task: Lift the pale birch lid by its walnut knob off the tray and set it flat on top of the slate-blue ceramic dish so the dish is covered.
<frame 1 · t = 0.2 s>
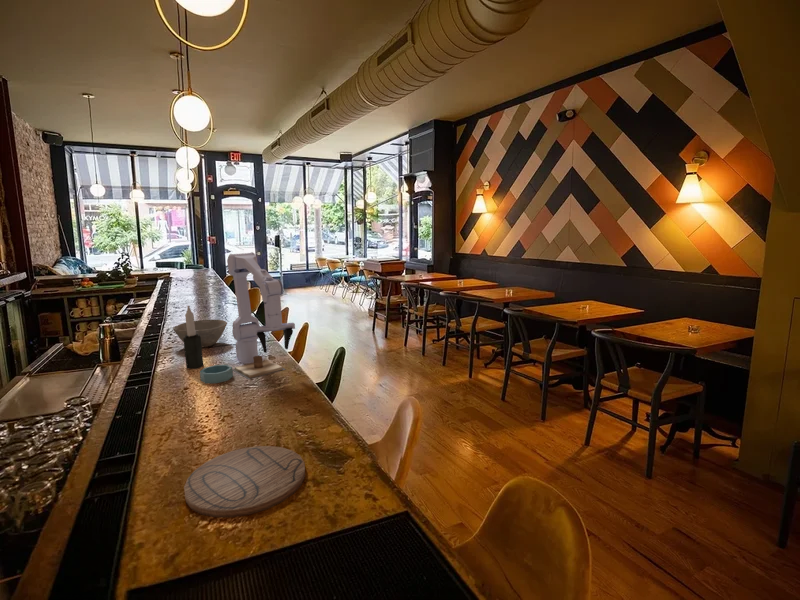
hand: (275, 350, 164), 10 cm above the bar counter, tool pointing down, fingers open, 7 cm apart
tray: (258, 371, 172), on the bar counter
trivet: (247, 482, 99), on the bar counter
ceramic bowl: (202, 346, 210), on the bar counter
lid: (258, 369, 172), point 1 cm above the bar counter, touching tray
candle: (195, 368, 177), on the bar counter
dish: (217, 379, 163), on the bar counter
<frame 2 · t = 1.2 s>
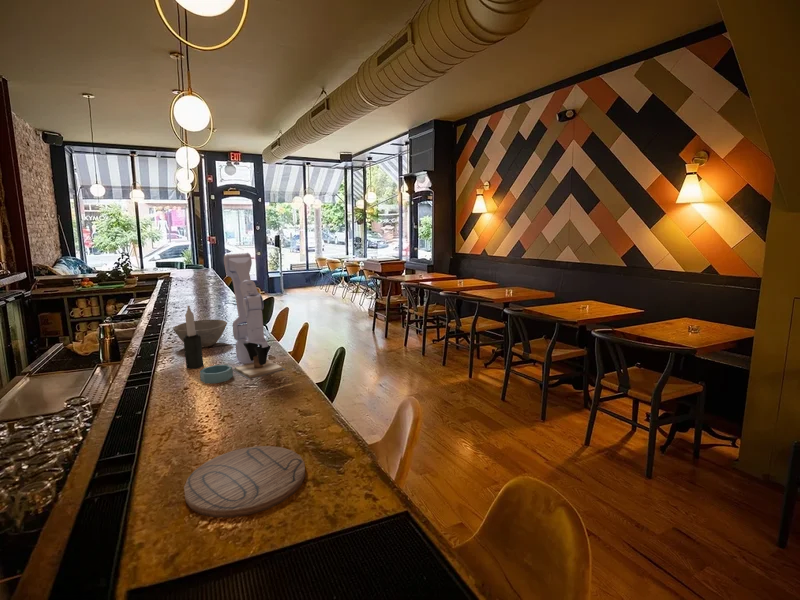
hand: (258, 362, 171), 4 cm above the bar counter, tool pointing down, fingers open, 7 cm apart
nothing on the bar counter moved.
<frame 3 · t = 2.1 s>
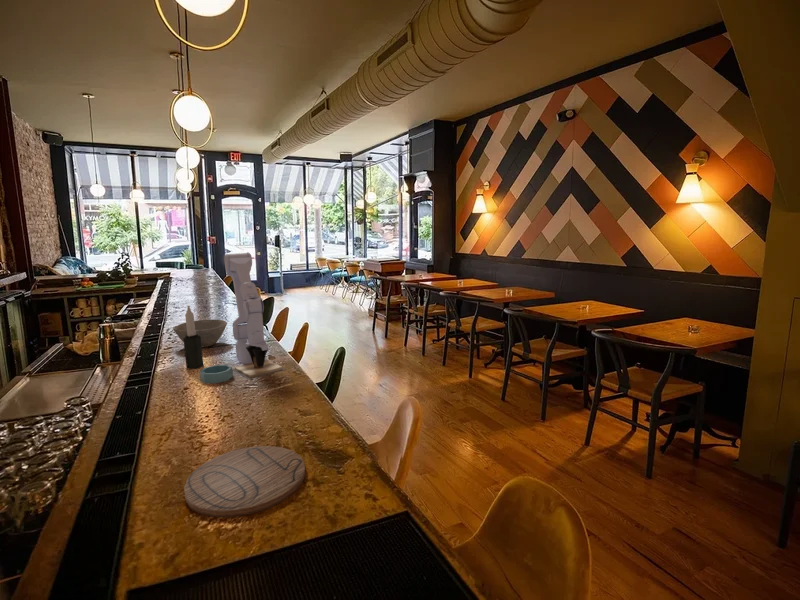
hand: (258, 365, 171), 2 cm above the bar counter, tool pointing down, fingers closed on lid, 3 cm apart
lid: (258, 369, 172), point 1 cm above the bar counter, touching gripper, tray
everything else where it was.
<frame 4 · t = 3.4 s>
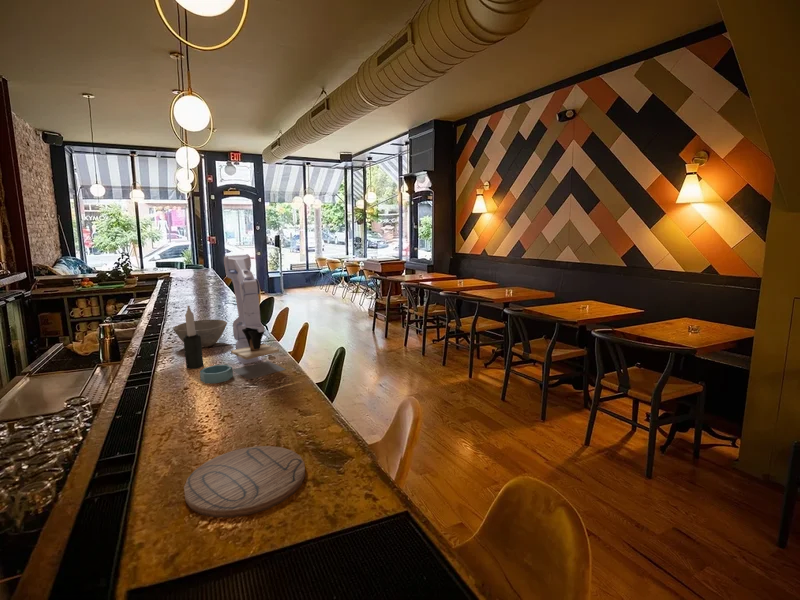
hand: (254, 347, 170), 9 cm above the bar counter, tool pointing down, fingers closed on lid, 3 cm apart
lid: (255, 352, 170), point 8 cm above the bar counter, touching gripper
everything else where it was.
when the fingers open (7 cm above the bar counter, at t = 5.0 s): lid drops 1 cm, resting on dish.
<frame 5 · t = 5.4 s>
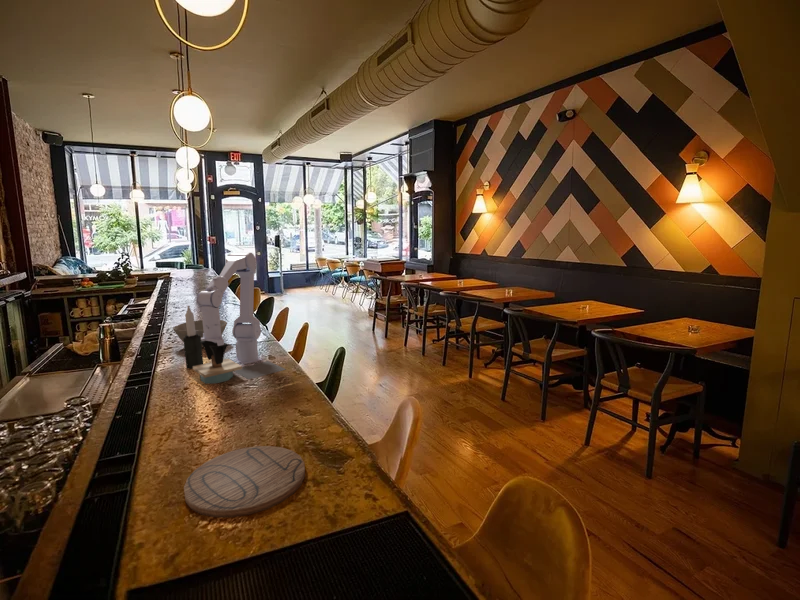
hand: (215, 361, 162), 7 cm above the bar counter, tool pointing down, fingers open, 7 cm apart
lid: (217, 368, 163), point 4 cm above the bar counter, touching dish
everything else where it was.
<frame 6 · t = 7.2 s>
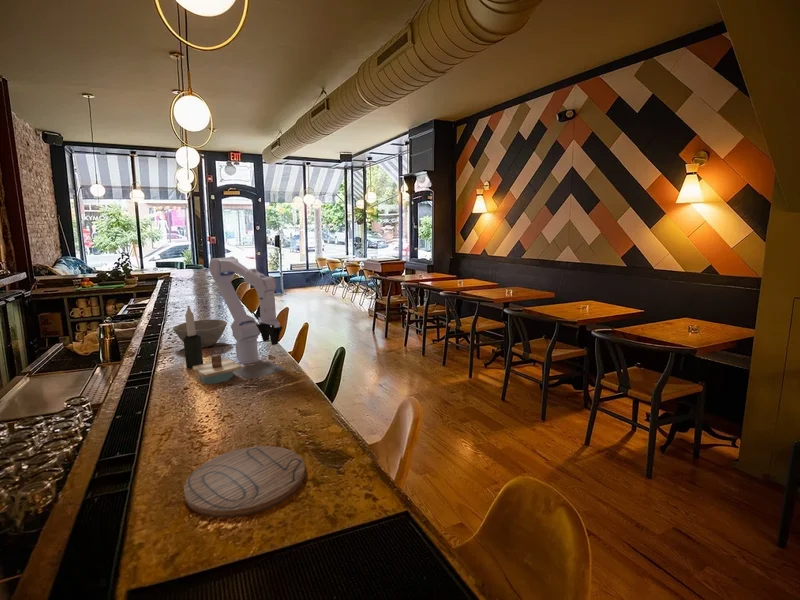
hand: (270, 342, 176), 9 cm above the bar counter, tool pointing down, fingers open, 7 cm apart
nothing on the bar counter moved.
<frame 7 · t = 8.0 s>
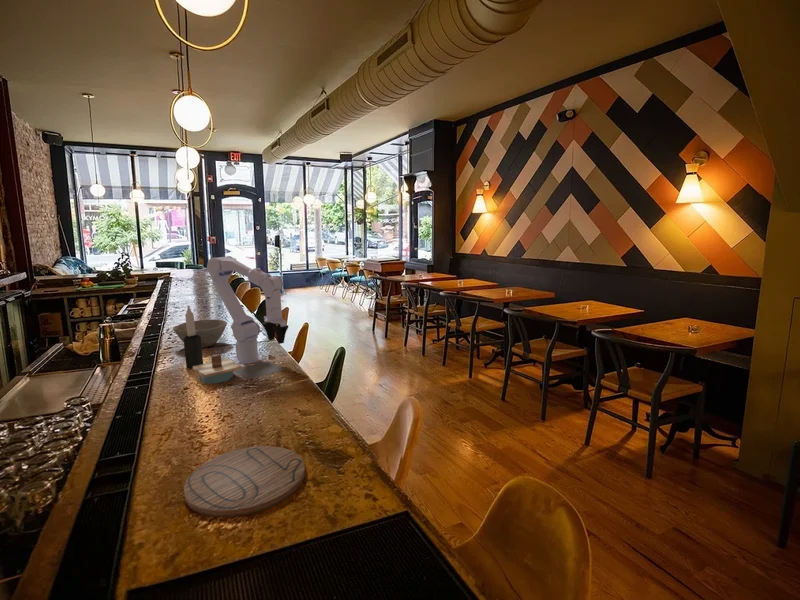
hand: (276, 341, 178), 9 cm above the bar counter, tool pointing down, fingers open, 7 cm apart
nothing on the bar counter moved.
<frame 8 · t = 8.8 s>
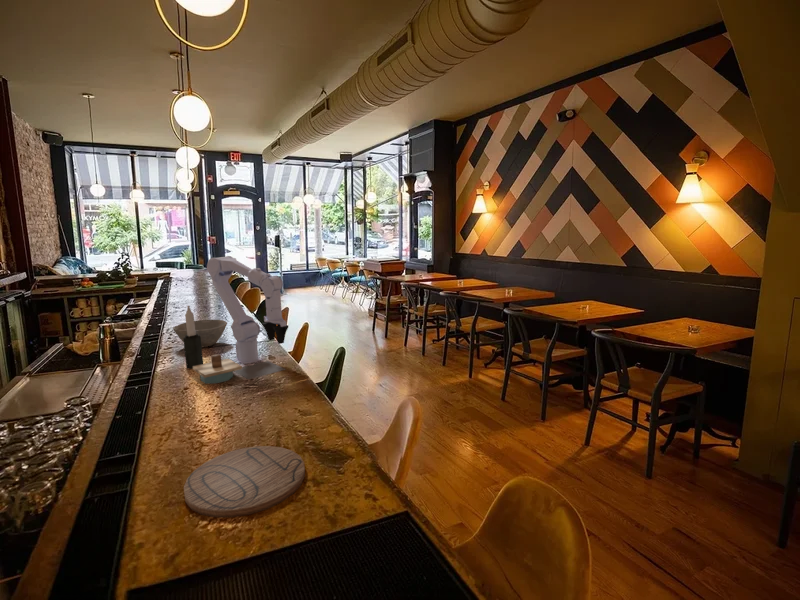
hand: (276, 341, 178), 9 cm above the bar counter, tool pointing down, fingers open, 7 cm apart
nothing on the bar counter moved.
at the end: lid 0.4 cm off-centre on the dish, point 4.0 cm above the dish's base; lid tilted 0°; the gripper is holding nothing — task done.
